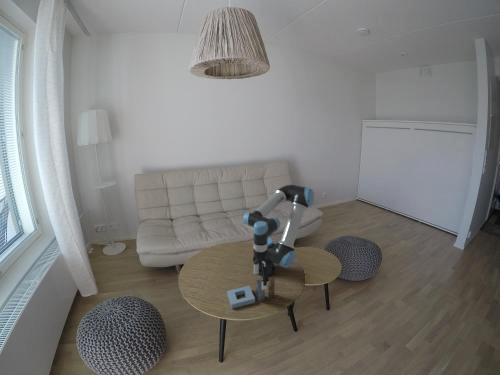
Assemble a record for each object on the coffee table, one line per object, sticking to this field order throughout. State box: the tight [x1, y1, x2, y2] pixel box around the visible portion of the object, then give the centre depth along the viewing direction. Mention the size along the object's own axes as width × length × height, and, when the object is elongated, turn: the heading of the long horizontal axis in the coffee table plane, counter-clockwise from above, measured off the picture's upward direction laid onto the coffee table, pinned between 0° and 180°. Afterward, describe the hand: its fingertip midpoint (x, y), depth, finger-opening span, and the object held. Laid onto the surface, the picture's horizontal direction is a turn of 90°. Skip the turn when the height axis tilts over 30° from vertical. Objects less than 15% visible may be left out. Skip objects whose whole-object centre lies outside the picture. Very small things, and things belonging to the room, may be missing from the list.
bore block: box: [226, 285, 256, 310], centre depth 141 cm, size 14×11×3 cm
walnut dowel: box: [267, 276, 276, 299], centre depth 141 cm, size 4×4×12 cm
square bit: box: [255, 278, 266, 303], centre depth 139 cm, size 4×4×12 cm
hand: (260, 281), depth 137 cm, fingers open, 13 cm apart
